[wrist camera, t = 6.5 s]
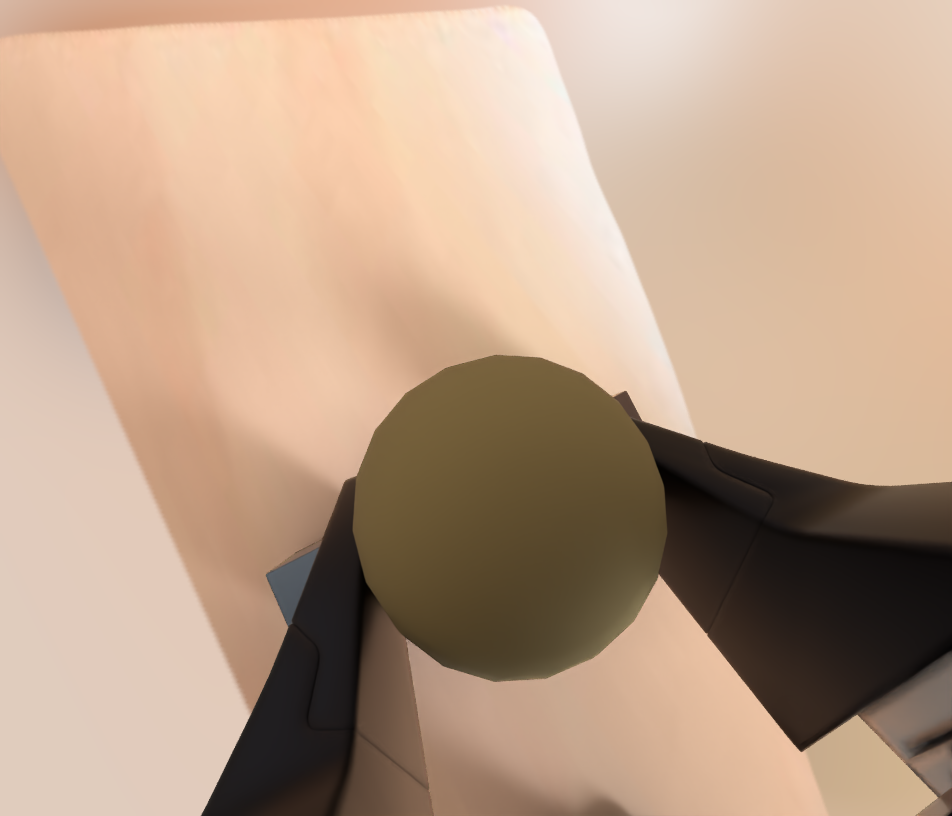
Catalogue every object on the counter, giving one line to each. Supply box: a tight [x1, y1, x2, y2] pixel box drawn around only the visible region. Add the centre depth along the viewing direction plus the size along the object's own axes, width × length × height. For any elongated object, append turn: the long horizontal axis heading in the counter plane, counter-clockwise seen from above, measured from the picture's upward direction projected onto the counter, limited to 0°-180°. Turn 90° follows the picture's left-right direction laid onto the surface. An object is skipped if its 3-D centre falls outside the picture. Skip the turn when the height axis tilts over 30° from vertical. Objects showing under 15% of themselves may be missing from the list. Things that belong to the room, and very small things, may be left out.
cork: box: [353, 355, 667, 682], centre depth 11 cm, size 6×6×11 cm
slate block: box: [266, 540, 322, 627], centre depth 17 cm, size 4×4×4 cm
